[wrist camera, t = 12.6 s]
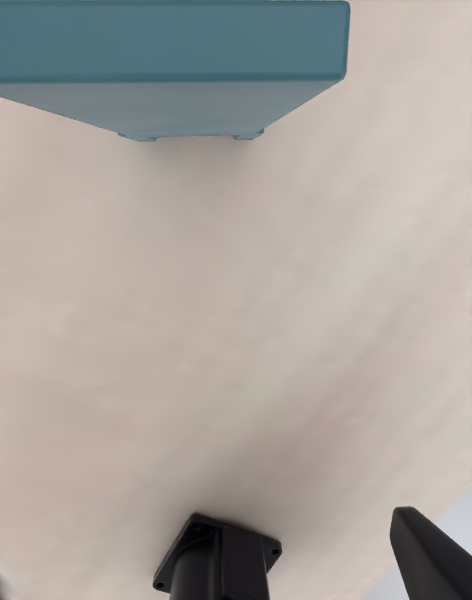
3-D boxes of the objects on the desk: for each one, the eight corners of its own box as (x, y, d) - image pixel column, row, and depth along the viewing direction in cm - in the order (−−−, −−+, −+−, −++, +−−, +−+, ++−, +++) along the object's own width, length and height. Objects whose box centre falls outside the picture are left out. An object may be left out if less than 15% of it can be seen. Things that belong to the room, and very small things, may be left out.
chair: (252, 139, 17) (369, 80, 5) (138, 141, 17) (-78, 83, 4) (252, 4, 16) (435, -695, 3) (125, 4, 15) (-292, -762, 3)
